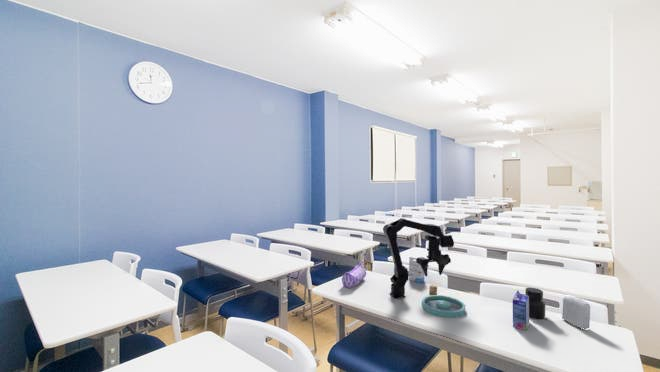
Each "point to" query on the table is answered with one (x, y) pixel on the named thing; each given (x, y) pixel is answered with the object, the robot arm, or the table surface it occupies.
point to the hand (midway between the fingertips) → (433, 275)
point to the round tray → (443, 306)
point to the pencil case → (354, 276)
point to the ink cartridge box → (520, 311)
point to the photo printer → (576, 311)
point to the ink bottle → (536, 303)
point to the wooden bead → (433, 290)
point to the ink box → (415, 271)
